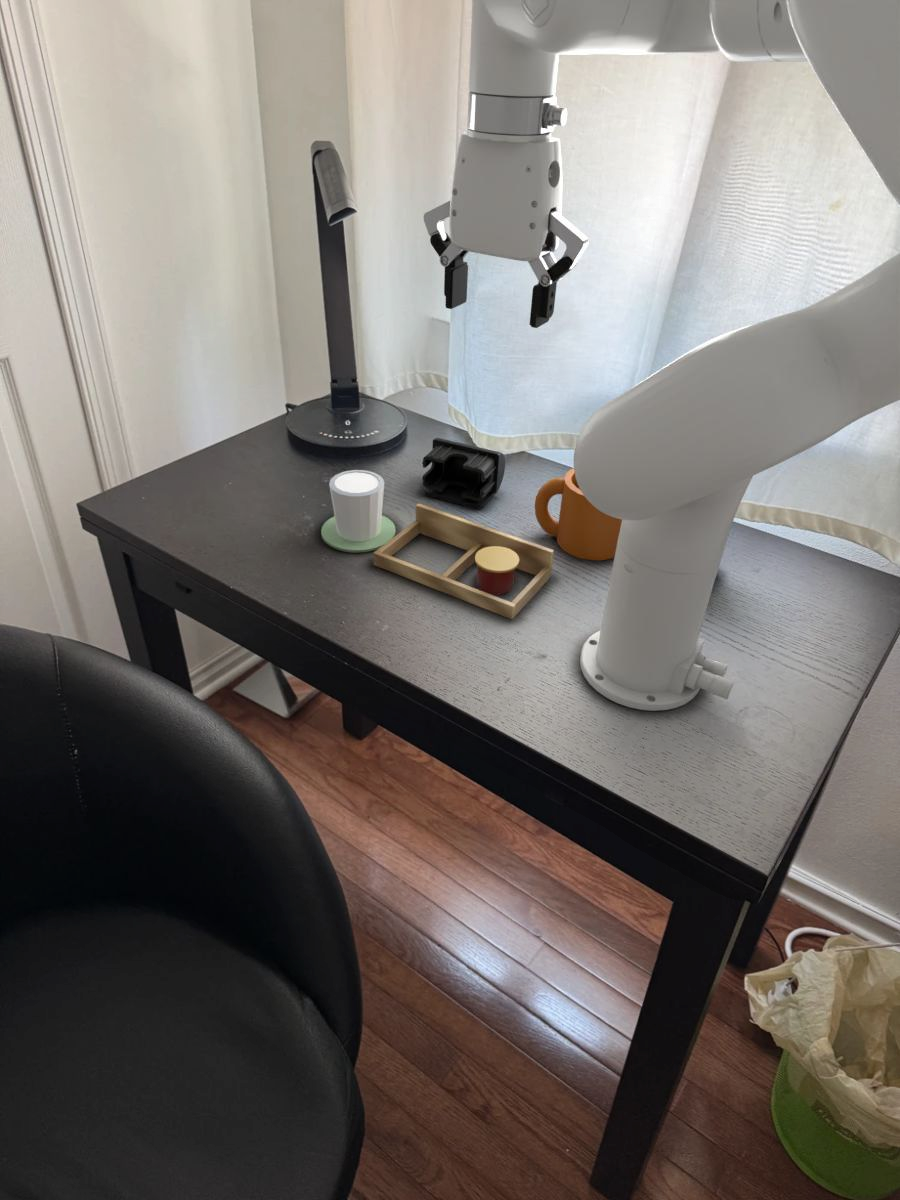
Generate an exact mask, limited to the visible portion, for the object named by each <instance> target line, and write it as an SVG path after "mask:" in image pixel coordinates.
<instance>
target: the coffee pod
mask: <svg viewBox="0 0 900 1200" xmlns="http://www.w3.org/2000/svg"><path fill="white" fill-rule="evenodd" d="M474 563H475V564H476V566H477V570H476V586H477V587H478V589H479V590H480V591H483V592H486V593H488V594H491V595H503V594H507V593H509V592H510V591H511V590H512V589H513V587H514V583H515V573H516V569H517V568H516V567H517V566H518V564H519V557H518V555H517V554H516V553H515V552H514V551H512V550H511V549H508V548H505V547H500V546H490V547H485V548H483V549H481V550H479V551H478V552H477V553H476V555H475V562H474Z"/></svg>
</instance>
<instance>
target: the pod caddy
mask: <svg viewBox="0 0 900 1200" xmlns="http://www.w3.org/2000/svg"><path fill="white" fill-rule="evenodd" d="M420 534H421V535H424V536H426V537H429V538H432V539H434V540H437V541H440V542H443V543H445V544H448V545H451V546H454V547H456V548H459V549H462V550H465V551H466V552H465V553H464V554H463V555H462V556H461V557H460V558H458V559H457V560H456V561H455V562H454V563H453V564H452V565H450V567H448V568H447V569H446V570H445V571H444V572H443V573H442V574H438V573H436V572H434V571H431V570H428V569H425V568H423V567H421V566H418V565H415V564H414V563H413V564H412V563H411V562H407V561H405V560H402V559H400V558H397V557H394V556H393V555H394V554H396V553H397V552H399V550H400V549H402V548H404V547H405V546H406V545H407V544H408V543H409V542H411V541H412V540H413V539H415V538H416V537H418V535H420ZM490 546H500V547H505V548H508V549H511V550H512V551H514V552H515V553H516V554H517V555H518V557H519V564H518V566H517V567H516V568H515V569H517V570H520V571H523V572H526V573H528V574H531V575H534V577H533V578H532V579H531V580H530V581H529V582H528V584H527V585H526V586H524V588H523V589H521V591H520V592H519V593H518V594H517V595H516V596H515V597H514V598H513V599H512V601H509V600H506V599H504V598H502V597H498V596H497V595H494V594H489V593H486V592H484V591H482V590H481V589H479V588H475V587H473V586H469V585H467V584H464V583H462V582H460V581H457V579H458V578H460V577H461V576H462V575H463V574H464V573H465V572H466V571H467V570H468V569H469V568H470V567H471V566H472V565H473V564H475V563H476V562H475V555H476V553H477V552H478V551H479V550H481V549H483V548H485V547H490ZM372 555H373V557H372V558H373V559H372V560H373V566H375V567H378V568H381V569H382V570H386V571H388V572H390V573H393V574H396V575H398V576H401V577H403V578H405V579H408V580H411V581H413V582H416V583H418V584H421V585H423V586H425V587H429V588H431V589H434V590H436V591H439V592H441V593H444V594H446V595H449V596H452V597H454V598H456V599H459V600H462V601H464V602H467V603H469V604H472V605H474V606H476V607H479V608H482V609H484V610H487V611H490V612H492V613H494V614H497V615H500V616H502V617H505V618H507V619H510V620H513V619H514V618H515V617H516V616H517V615H518V614H519V613H520V612H521V611H522V610H523V608H524V607H525V606H526V605H527V604H528V603H530V601H531V599H533V598H534V596H535V595H536V594H537V593H538V592H539V591H540V590H541V589H542V588H543V586H544V585H545V584H546V583H547V582H549V580H550V579H551V576H552V571H553V570H552V569H553V563H554V555H555V549H553V548H549V547H546V546H543V545H540V544H538V543H535V542H532V541H529V540H526V539H523V538H521V537H518V536H515V535H511V534H509V533H506V532H504V531H500V530H497V529H494V528H492V527H488V526H485V525H482V524H480V523H477V522H474V521H471V520H468V519H466V518H462V517H459V516H457V515H454V514H451V513H448V512H445V511H443V510H442V511H441V510H439V509H437V508H434V507H431V506H428V505H425V504H421V503H417V504H415V520H414V521H413V522H412V523H410V524H409V525H408V526H407V527H405V528H404V529H402V530H401V531H400V532H398V533H397V534H395V537H393V538H392V539H391V540H390V541H388V542H387V543H386V544H384V545H383V546H382V547H380V548H379V549H377V550H374V551H373V552H372Z"/></svg>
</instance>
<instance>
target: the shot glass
mask: <svg viewBox="0 0 900 1200" xmlns="http://www.w3.org/2000/svg"><path fill="white" fill-rule="evenodd" d="M328 484H329V491H330V498H331V504H332V510H333V517H334V516H335V522H336V528H337V532H338V534H339V536H341V537H342V538H344V539H346V540H350V541H367V540H370V539H373V538H375V537H376V536H377V535H378V534H379V533H380V528H381V516H382V515H383V502H384V491H385V480H384V479H383V477H382V476H381V475H380V474H377V473H376V472H373V471H370V470H364V469H352V470H345V471H342V472H339V473H336V474H335V475H334V476H332V477H331V478H330V479H329V483H328Z"/></svg>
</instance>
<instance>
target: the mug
mask: <svg viewBox="0 0 900 1200" xmlns="http://www.w3.org/2000/svg"><path fill="white" fill-rule="evenodd" d="M556 495H561V501H560V509H559V516H558V521H557V520H556V519H554V518H553V517H552V516H551V514H550V511H549V503H550V501H551V499H552V498H553V497H554V496H556ZM534 514H535V517H536V520H537V522H538V525H539V526H540V528H541V529H542V530H543V531H544V532H545V533H546V534H548V535H550V536H551V537H553V538H556V542H557V544H558V546H559V547H560V548H561V550H563V551H564V552H566V553H567V554H568V555H571V556H573V557H575V558H578V559H582V560H586V561H606V560H611V559H614V558H615V552H616V547H617V542H618V537H619V533H620V527H621V523H622V519H617V518H614V517H611V516H609V515H607V514H605V513H603V512H601V511H600V510H598V509H597V508H595V507H594V506H593V505H592V504H591V503H590V502H589V501H588V500H587V499H586V498H585V496H584V495H583V493H582V492H581V490H580V488H579V486H578V483H577V480H576V477H575V472H574V467H573V468H570V470H568V471H567V472H565V475H564V477H555V478H552V479H548V481H546V482H545V483H543V485H542V486H541V487H540V488H539V490H538V492H537V494H536V496H535V500H534Z"/></svg>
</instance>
